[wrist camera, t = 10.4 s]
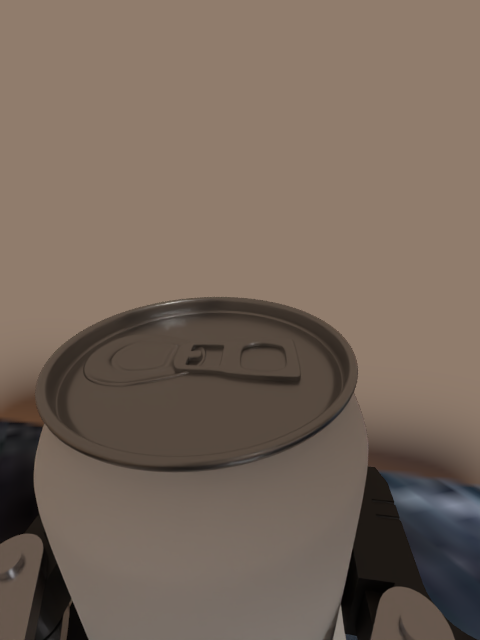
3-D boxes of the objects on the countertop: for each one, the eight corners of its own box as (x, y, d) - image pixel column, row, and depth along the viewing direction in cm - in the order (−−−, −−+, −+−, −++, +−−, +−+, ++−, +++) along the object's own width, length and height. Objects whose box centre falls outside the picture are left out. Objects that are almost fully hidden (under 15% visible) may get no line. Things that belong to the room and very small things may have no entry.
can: (160, 543, 14) (114, 290, 9) (304, 551, 13) (335, 292, 9) (87, 811, 8) (-164, 488, 3) (341, 838, 7) (502, 518, 3)
